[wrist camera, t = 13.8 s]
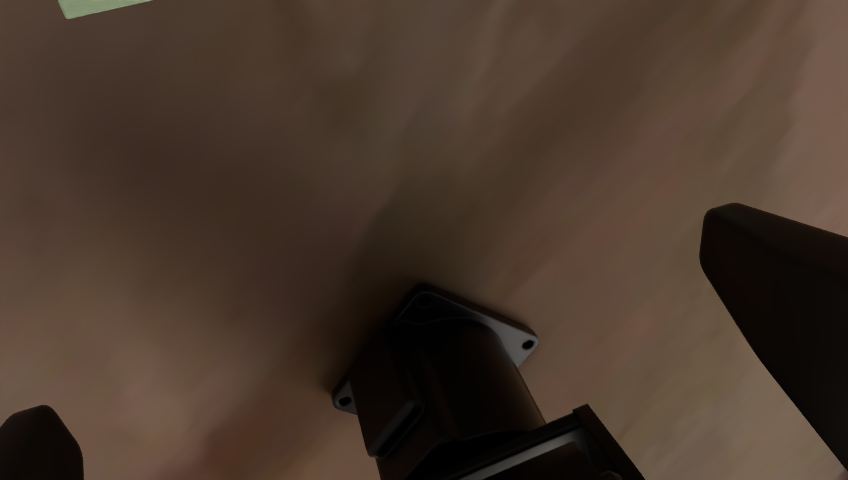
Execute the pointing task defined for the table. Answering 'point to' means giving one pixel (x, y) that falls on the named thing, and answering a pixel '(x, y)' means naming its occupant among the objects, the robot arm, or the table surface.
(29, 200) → the table surface
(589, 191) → the table surface
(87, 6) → the bin
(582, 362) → the table surface
